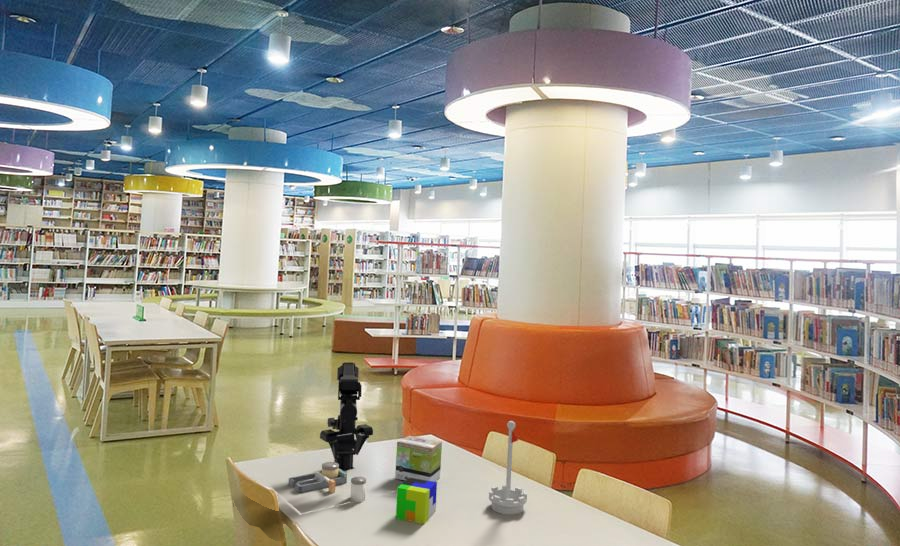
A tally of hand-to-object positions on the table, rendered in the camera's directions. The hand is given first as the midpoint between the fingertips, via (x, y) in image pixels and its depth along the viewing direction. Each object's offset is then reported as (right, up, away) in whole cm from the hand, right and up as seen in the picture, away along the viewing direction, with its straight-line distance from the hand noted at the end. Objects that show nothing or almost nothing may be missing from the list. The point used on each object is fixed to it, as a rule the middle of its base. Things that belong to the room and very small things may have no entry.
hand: (346, 456), depth 209 cm
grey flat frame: (-11, -12, +3) cm, 16 cm away
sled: (-11, -11, -1) cm, 16 cm away
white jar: (+5, -12, -8) cm, 16 cm away
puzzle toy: (+26, -14, -18) cm, 35 cm away
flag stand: (+57, -15, -9) cm, 60 cm away
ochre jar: (-7, -11, +6) cm, 15 cm away
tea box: (+25, -13, +14) cm, 32 cm away
